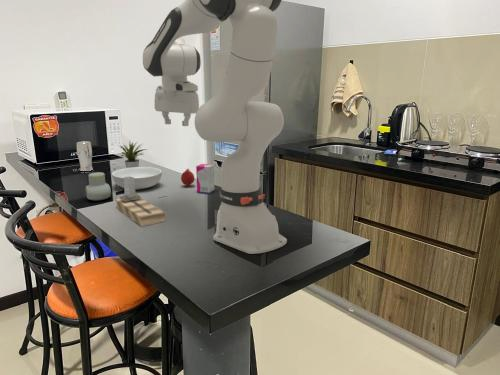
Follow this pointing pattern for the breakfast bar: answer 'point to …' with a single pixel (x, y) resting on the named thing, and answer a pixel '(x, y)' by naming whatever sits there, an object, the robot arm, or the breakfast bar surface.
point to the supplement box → (205, 178)
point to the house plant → (131, 155)
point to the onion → (187, 177)
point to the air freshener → (97, 187)
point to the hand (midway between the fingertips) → (176, 125)
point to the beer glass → (85, 155)
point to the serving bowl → (138, 176)
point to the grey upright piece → (129, 190)
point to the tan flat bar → (141, 211)
